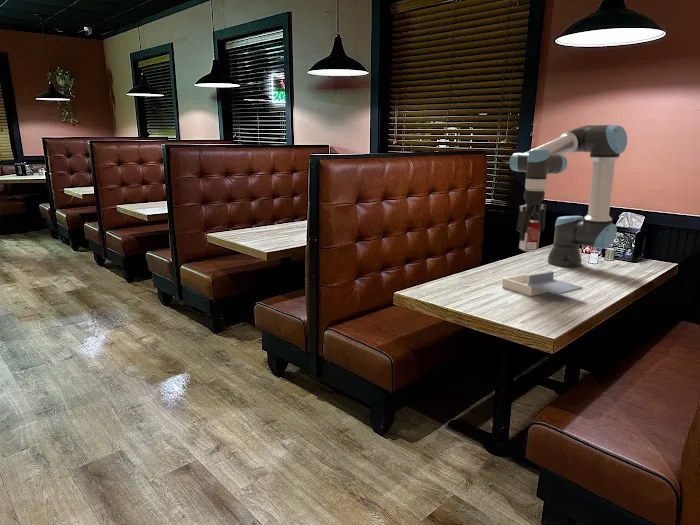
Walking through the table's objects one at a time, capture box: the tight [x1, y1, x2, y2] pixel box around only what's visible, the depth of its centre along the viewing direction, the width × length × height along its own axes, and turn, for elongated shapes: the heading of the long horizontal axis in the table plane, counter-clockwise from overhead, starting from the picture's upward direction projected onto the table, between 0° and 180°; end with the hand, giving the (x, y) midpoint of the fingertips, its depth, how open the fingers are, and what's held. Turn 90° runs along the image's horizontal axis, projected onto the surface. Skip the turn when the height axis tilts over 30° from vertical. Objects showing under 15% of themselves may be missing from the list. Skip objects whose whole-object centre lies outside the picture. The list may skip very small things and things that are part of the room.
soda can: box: [521, 218, 540, 252], centre depth 198 cm, size 7×7×12 cm
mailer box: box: [502, 273, 549, 297], centre depth 201 cm, size 14×14×4 cm
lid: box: [527, 270, 584, 296], centre depth 190 cm, size 14×14×4 cm
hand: (528, 247), depth 199 cm, fingers closed on soda can, 6 cm apart
